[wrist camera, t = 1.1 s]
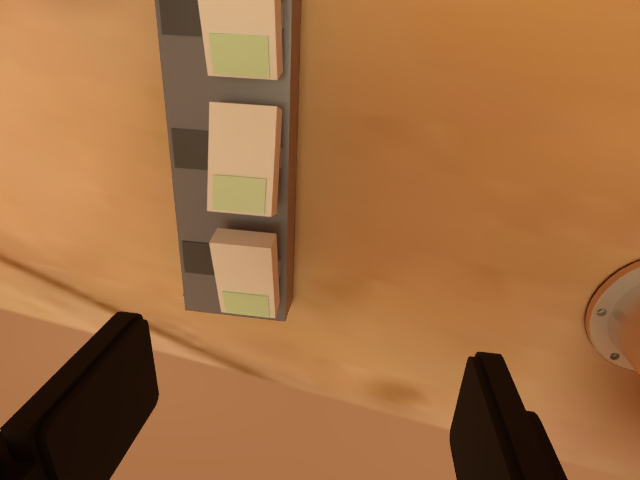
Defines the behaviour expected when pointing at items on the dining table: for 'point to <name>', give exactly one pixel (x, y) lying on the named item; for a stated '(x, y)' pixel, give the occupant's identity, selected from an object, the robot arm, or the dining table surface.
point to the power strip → (192, 147)
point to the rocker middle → (243, 158)
